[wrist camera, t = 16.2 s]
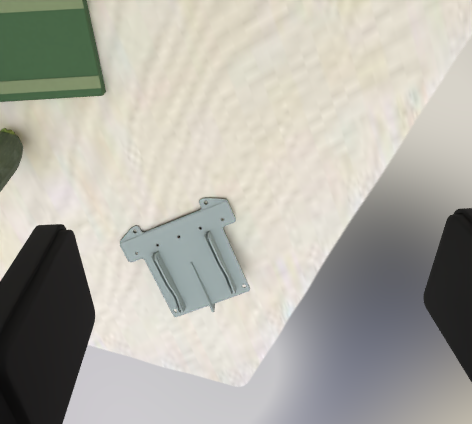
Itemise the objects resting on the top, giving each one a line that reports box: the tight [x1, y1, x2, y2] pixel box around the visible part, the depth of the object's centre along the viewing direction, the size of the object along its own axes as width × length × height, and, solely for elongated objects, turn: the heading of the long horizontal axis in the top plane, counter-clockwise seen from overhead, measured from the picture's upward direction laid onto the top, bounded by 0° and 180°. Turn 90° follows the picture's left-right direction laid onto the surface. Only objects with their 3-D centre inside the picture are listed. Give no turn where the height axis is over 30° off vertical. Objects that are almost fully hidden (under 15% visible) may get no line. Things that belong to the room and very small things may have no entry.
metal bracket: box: [120, 198, 250, 317], centre depth 53 cm, size 14×6×15 cm
